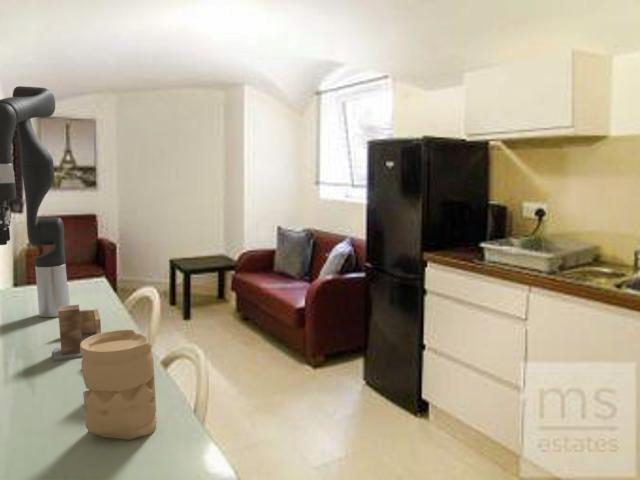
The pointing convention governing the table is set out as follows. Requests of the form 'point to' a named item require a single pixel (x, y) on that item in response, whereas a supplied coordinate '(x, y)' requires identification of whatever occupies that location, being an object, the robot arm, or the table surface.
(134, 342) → the container
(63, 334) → the plate
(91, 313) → the shelf end
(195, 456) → the table surface
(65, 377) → the table surface
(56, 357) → the mat
